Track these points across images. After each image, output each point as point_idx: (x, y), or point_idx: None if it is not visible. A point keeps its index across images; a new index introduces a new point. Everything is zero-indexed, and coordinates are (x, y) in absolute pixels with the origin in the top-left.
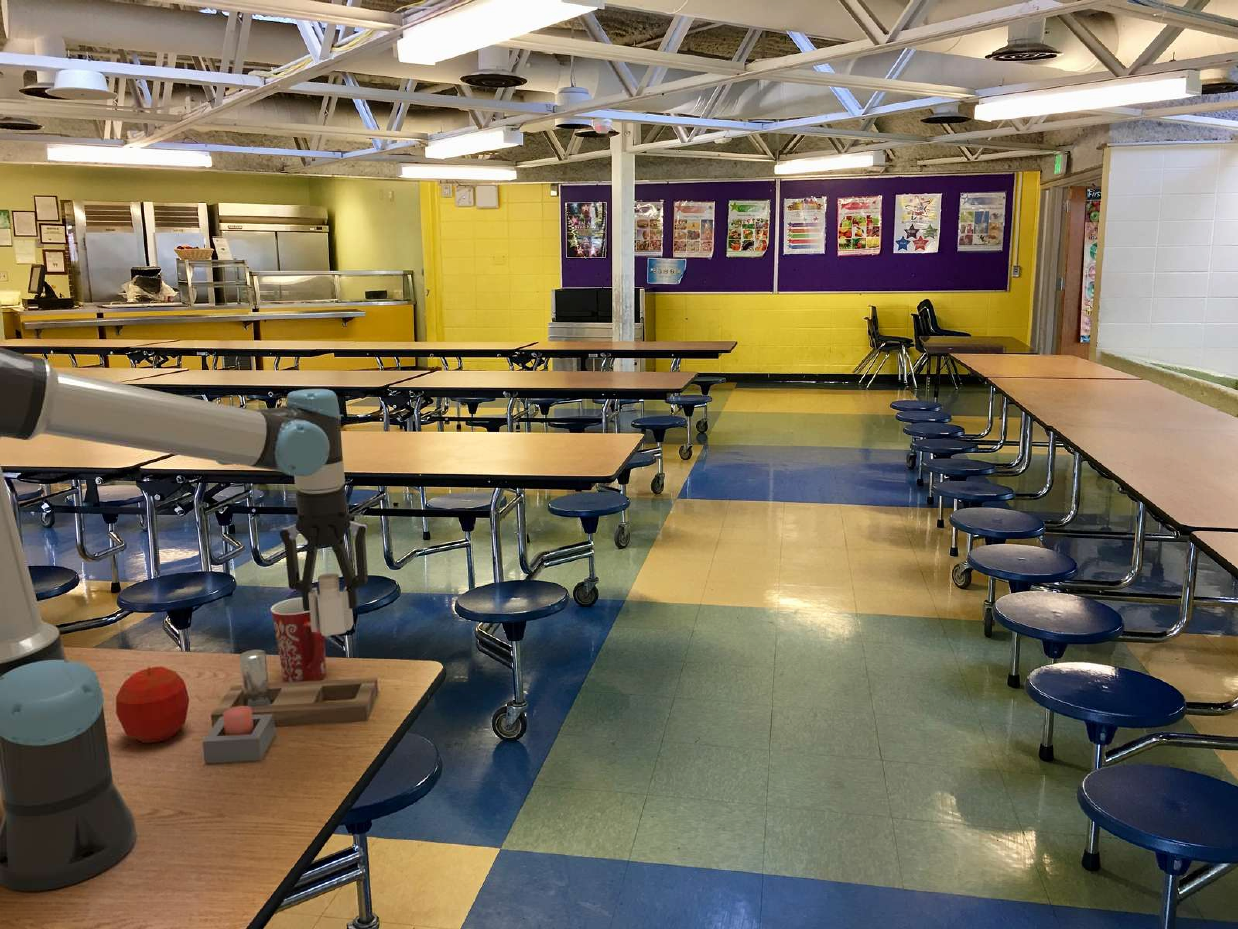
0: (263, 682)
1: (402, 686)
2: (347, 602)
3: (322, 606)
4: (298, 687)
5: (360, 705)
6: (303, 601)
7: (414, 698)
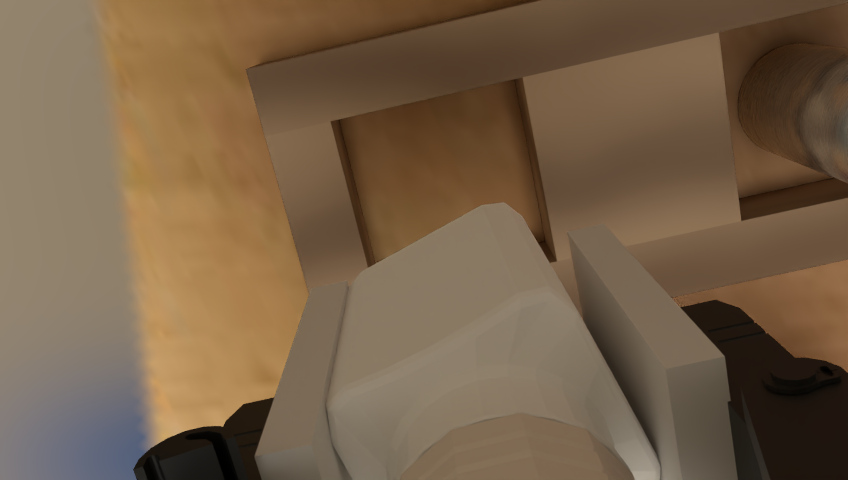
0: (819, 97)
1: (251, 397)
2: (281, 392)
3: (513, 277)
4: (664, 233)
5: (275, 72)
6: (761, 340)
7: (147, 294)
